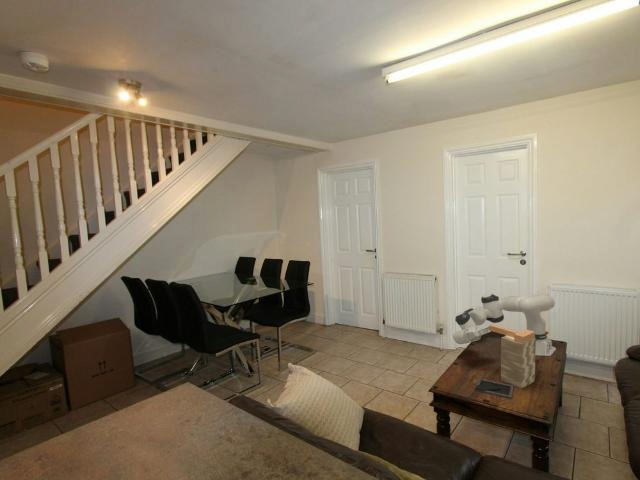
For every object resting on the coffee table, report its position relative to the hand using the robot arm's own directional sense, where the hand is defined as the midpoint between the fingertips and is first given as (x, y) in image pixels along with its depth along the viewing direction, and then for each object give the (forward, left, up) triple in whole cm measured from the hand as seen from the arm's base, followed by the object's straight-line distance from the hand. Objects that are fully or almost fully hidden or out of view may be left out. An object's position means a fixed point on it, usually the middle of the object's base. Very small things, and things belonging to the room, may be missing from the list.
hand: (491, 328), depth 214 cm
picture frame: (+18, +14, -28) cm, 36 cm away
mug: (-14, +17, -27) cm, 35 cm away
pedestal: (0, +16, -27) cm, 31 cm away
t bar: (0, +11, -1) cm, 11 cm away
